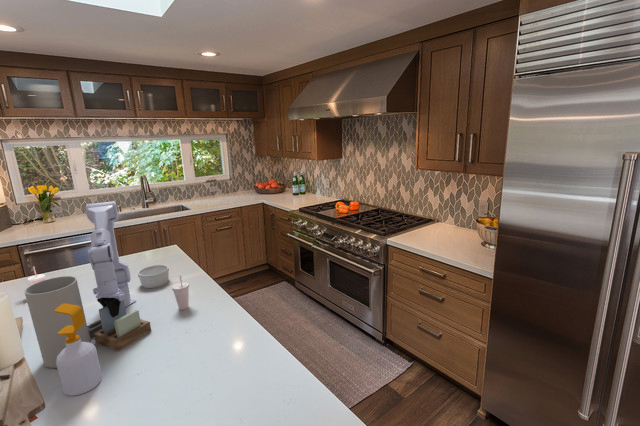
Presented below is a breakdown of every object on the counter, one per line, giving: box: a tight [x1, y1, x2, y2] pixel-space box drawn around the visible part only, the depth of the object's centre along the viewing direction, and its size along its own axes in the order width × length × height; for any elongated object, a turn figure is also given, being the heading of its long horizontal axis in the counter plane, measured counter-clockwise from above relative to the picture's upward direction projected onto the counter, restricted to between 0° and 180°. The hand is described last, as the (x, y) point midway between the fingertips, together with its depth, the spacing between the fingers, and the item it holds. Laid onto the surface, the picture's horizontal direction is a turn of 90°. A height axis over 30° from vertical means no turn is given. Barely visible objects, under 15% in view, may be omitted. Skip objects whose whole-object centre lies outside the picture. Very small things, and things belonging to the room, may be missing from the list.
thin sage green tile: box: [114, 309, 141, 339], centre depth 114 cm, size 1×8×9 cm, turn 155°
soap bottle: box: [54, 303, 103, 397], centre depth 91 cm, size 9×9×25 cm
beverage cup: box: [27, 265, 46, 286], centre depth 149 cm, size 6×6×14 cm
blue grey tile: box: [98, 300, 127, 334], centre depth 116 cm, size 1×8×9 cm, turn 155°
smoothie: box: [171, 275, 190, 311], centre depth 133 cm, size 6×6×14 cm
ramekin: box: [137, 264, 170, 289], centre depth 157 cm, size 13×13×7 cm
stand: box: [87, 318, 102, 340], centre depth 122 cm, size 4×12×3 cm, turn 155°
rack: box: [93, 318, 152, 352], centre depth 116 cm, size 12×12×4 cm
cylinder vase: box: [23, 275, 92, 369], centre depth 104 cm, size 12×12×25 cm
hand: (113, 315), depth 116 cm, fingers closed on blue grey tile, 1 cm apart
